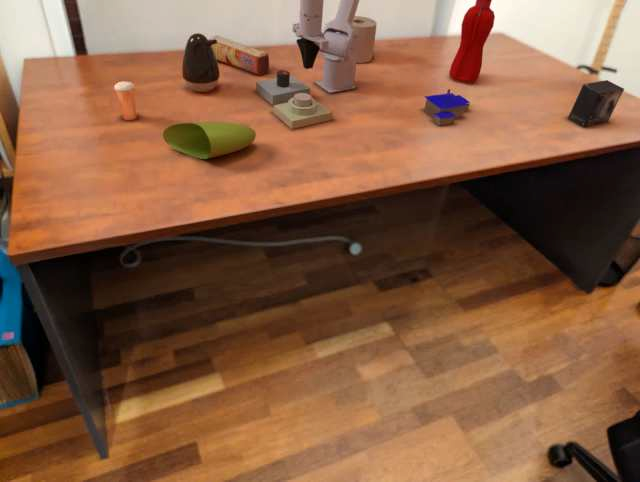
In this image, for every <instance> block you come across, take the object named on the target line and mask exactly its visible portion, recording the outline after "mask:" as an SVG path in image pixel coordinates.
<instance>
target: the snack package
mask: <svg viewBox="0 0 640 482" xmlns="http://www.w3.org/2000/svg"><path fill="white" fill-rule="evenodd" d="M214 39H216V40H217V43H216V44H213V45H211V46H212V48H213V50H214V53H215V56H216V59H217V61H219V62H222V63H224V64H227V65H231V66H232V67H233V66H234V67H236V68H239V69H242V70H244V71H247V72H250V73H252V74H254V75H257V76H261V75H263V74H265V73H267V72H268V71H269V68H270V57H269V53H268V52H266V51H264V50H260V49H258V48H257V49H256V48H254V47H252V46H249V45H246V44H242V43H240V42H237V41H234V40H231V39H229V38H225V37H223V36H221V35H213V36H211V37H210V38H209V39H208V40H214Z"/></svg>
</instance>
